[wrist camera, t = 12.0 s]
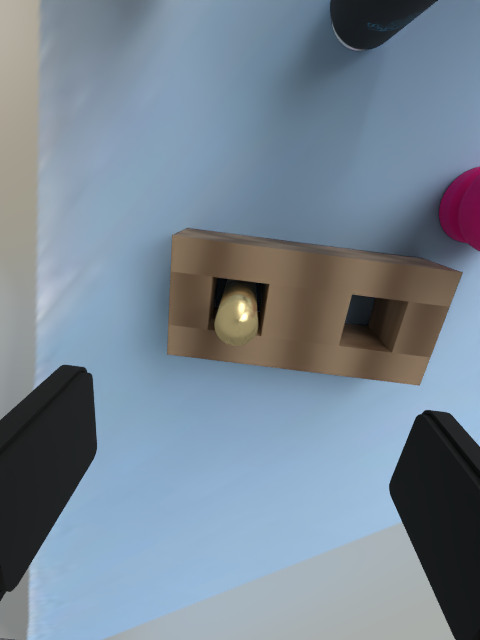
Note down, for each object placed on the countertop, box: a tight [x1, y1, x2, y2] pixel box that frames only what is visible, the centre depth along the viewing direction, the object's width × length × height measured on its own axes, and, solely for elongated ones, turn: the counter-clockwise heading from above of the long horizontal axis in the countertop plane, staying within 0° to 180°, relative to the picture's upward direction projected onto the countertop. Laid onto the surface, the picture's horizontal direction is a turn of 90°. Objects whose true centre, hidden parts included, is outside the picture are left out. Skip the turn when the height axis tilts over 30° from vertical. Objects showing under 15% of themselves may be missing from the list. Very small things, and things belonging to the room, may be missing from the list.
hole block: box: [167, 228, 463, 385], centre depth 28 cm, size 22×10×6 cm, turn 83°
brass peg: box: [214, 279, 258, 346], centre depth 27 cm, size 3×3×10 cm
